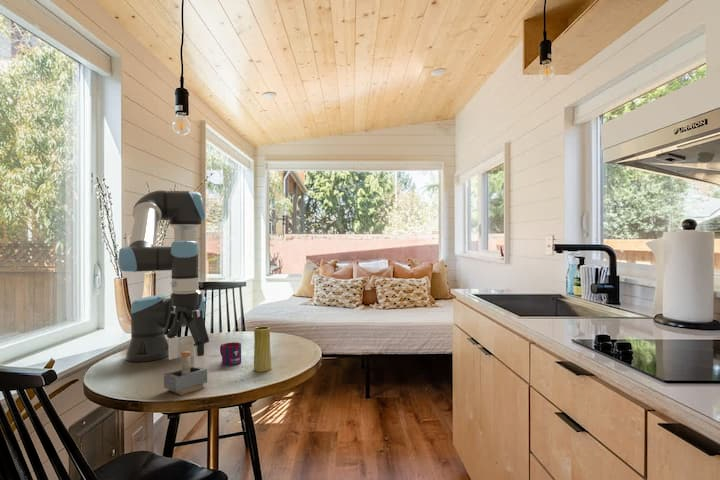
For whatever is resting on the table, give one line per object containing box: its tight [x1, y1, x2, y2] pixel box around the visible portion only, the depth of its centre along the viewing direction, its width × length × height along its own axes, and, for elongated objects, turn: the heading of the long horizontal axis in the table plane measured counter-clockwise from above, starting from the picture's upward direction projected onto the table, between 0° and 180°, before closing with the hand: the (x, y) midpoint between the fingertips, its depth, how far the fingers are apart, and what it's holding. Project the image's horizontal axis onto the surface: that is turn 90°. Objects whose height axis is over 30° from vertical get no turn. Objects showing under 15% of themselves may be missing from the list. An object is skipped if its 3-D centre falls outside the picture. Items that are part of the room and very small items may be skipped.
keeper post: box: [168, 350, 204, 396], centre depth 124 cm, size 7×7×11 cm
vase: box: [253, 326, 272, 373], centre depth 142 cm, size 6×6×14 cm
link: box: [163, 365, 208, 393], centre depth 124 cm, size 6×10×4 cm, turn 144°
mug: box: [219, 341, 242, 367], centre depth 152 cm, size 7×10×7 cm
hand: (185, 362), depth 124 cm, fingers open, 13 cm apart
